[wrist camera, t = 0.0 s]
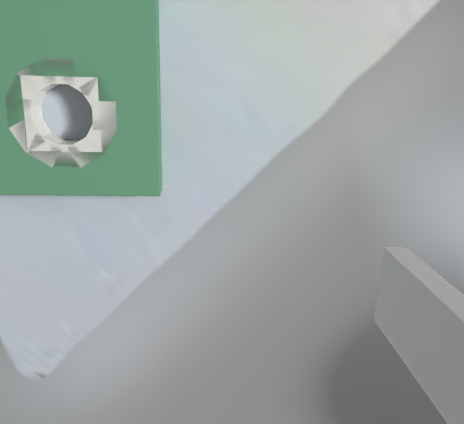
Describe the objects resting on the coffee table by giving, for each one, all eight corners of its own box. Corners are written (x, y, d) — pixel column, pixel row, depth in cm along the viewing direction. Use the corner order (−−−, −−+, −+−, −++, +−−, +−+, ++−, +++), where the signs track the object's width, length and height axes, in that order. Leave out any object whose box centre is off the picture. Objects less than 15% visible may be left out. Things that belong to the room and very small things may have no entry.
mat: (-53, -115, 34) (-73, -130, 32) (156, -103, 35) (153, -117, 33) (-12, 187, 41) (-25, 194, 39) (161, 189, 42) (159, 196, 40)
